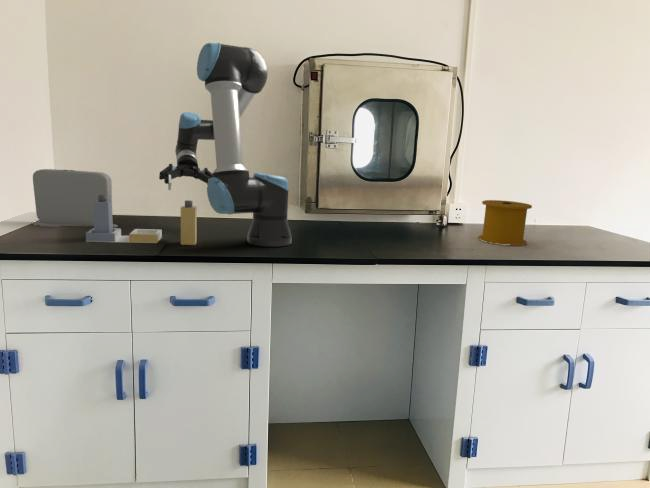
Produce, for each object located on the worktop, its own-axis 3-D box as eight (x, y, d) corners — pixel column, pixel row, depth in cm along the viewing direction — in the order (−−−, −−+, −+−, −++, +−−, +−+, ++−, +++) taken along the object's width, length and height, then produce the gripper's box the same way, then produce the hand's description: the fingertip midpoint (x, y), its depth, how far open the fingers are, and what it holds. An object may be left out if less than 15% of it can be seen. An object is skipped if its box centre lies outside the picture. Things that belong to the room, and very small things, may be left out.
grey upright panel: (122, 225, 195) (120, 171, 190) (109, 230, 185) (106, 174, 181) (42, 220, 197) (39, 166, 193) (25, 224, 188) (21, 168, 183)
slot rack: (162, 239, 176) (162, 229, 175) (157, 246, 166) (156, 235, 165) (94, 237, 173) (94, 227, 172) (85, 244, 163) (84, 233, 162)
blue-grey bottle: (113, 237, 171) (111, 194, 168) (109, 240, 166) (107, 196, 163) (98, 236, 170) (96, 193, 167) (94, 239, 166) (92, 195, 163)
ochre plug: (196, 241, 175) (196, 200, 172) (195, 244, 170) (195, 202, 167) (182, 241, 174) (182, 199, 171) (180, 244, 170) (180, 201, 167)
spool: (515, 248, 191) (520, 207, 187) (469, 239, 202) (474, 201, 199) (534, 242, 204) (539, 204, 200) (490, 234, 215) (494, 198, 212)
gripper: (219, 176, 202) (225, 201, 185) (151, 168, 194) (151, 194, 177) (222, 158, 199) (228, 182, 182) (153, 150, 190) (153, 174, 173)
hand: (190, 188), depth 179 cm, fingers open, 13 cm apart
